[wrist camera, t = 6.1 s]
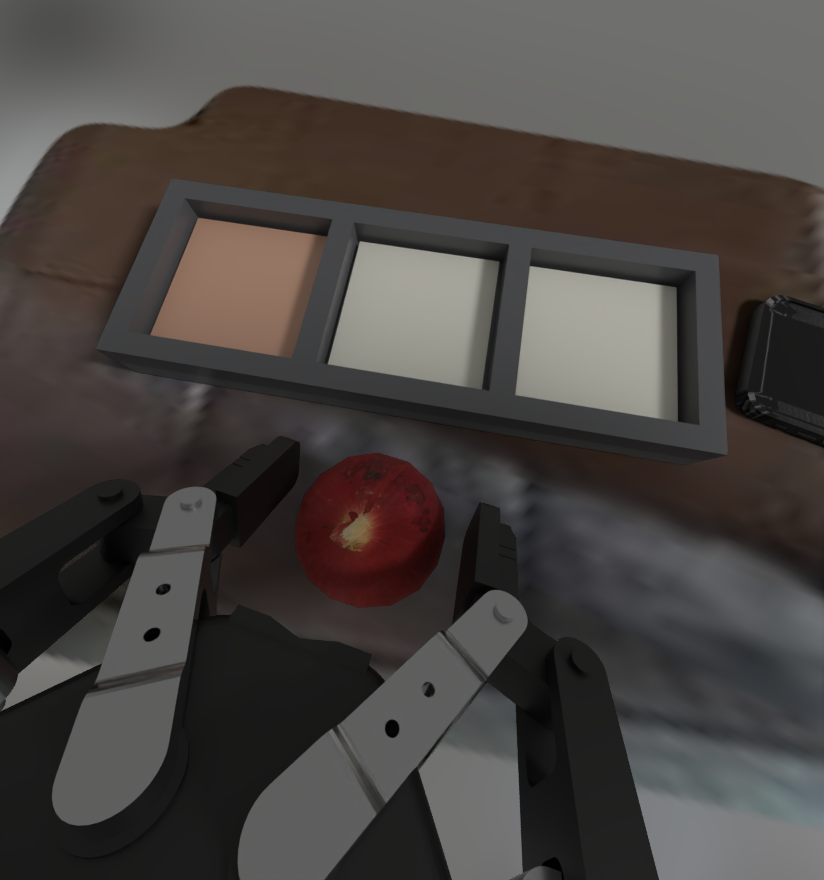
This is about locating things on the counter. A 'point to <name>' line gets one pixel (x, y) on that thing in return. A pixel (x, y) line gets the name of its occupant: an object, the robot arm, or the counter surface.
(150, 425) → the counter surface
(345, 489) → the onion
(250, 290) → the terracotta key
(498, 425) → the keypad
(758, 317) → the phone
